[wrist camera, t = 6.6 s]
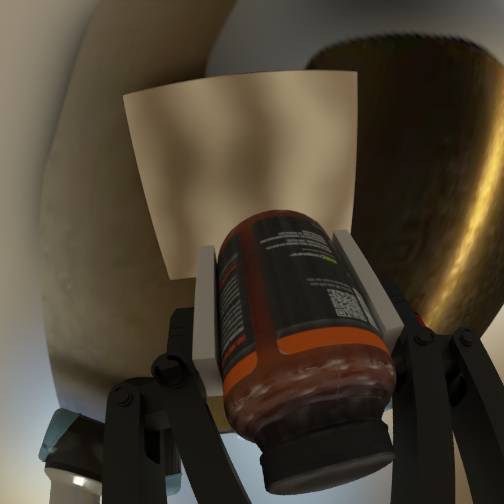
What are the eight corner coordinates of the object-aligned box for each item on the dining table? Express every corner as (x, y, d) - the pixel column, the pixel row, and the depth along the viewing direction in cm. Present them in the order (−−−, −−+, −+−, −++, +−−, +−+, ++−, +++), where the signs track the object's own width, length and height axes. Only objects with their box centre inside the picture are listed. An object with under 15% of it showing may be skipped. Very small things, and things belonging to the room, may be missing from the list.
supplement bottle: (227, 304, 18) (243, 505, 8) (206, 214, 14) (201, 481, 5) (328, 288, 18) (394, 473, 8) (330, 196, 14) (460, 417, 5)
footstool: (179, 230, 35) (170, 280, 28) (149, 85, 25) (122, 95, 18) (321, 212, 36) (347, 257, 28) (320, 67, 26) (357, 72, 19)
